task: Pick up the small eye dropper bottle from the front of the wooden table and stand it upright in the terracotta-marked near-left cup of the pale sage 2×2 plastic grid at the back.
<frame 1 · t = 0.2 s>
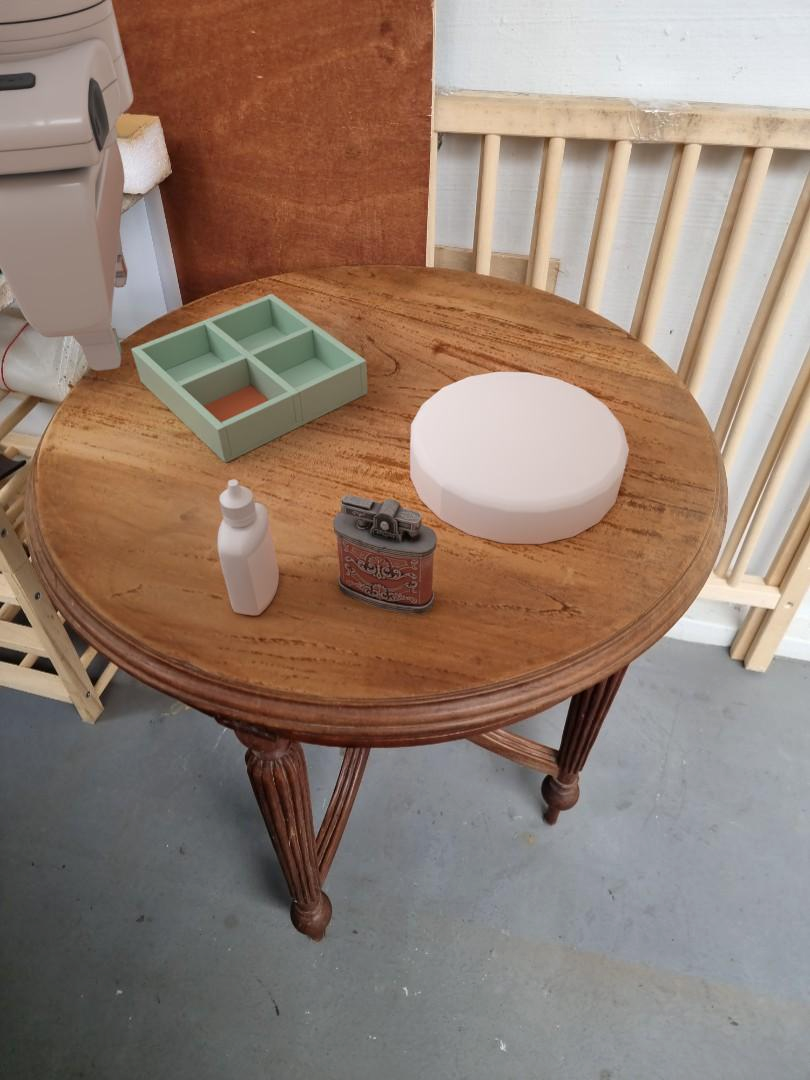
hand: (111, 320, 48), 23 cm above the table, tool pointing down, fingers open, 8 cm apart
eye dropper bottle: (256, 592, 64), on the table
lighter: (386, 594, 64), on the table
container: (513, 469, 74), on the table
grid: (253, 387, 83), on the table
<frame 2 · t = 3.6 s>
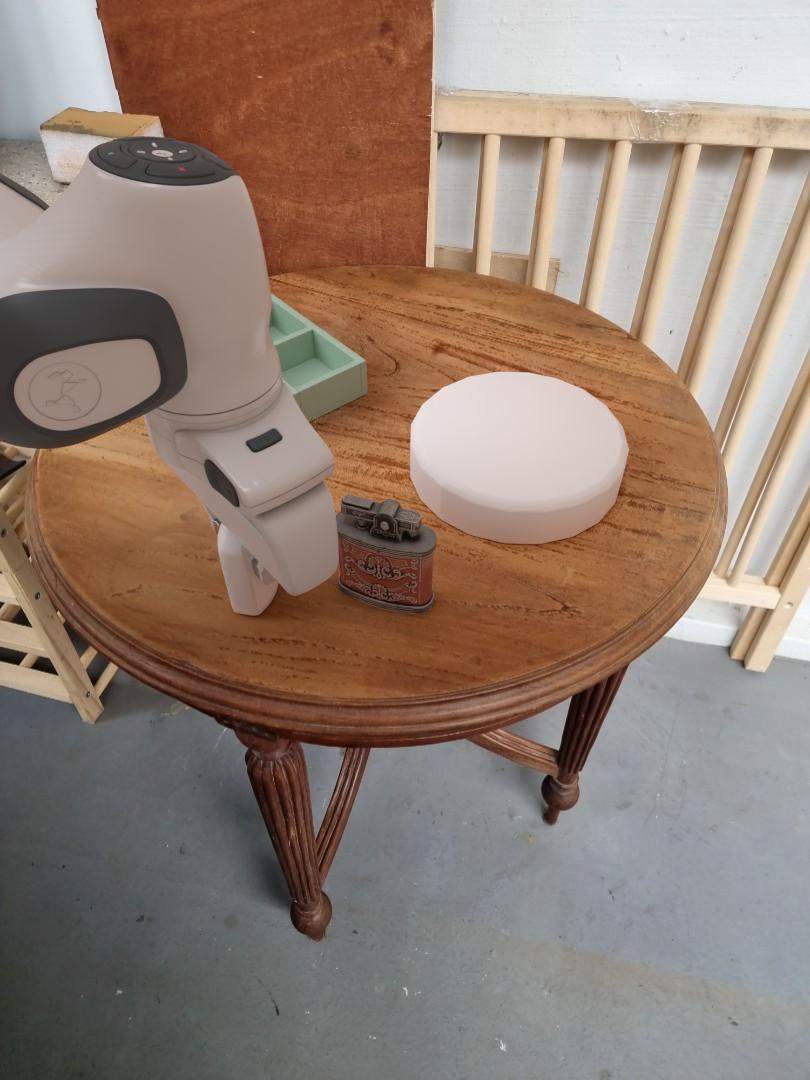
hand: (248, 553, 60), 5 cm above the table, tool pointing down, fingers closed on eye dropper bottle, 4 cm apart
eye dropper bottle: (256, 592, 64), on the table, touching gripper
everything else where it was.
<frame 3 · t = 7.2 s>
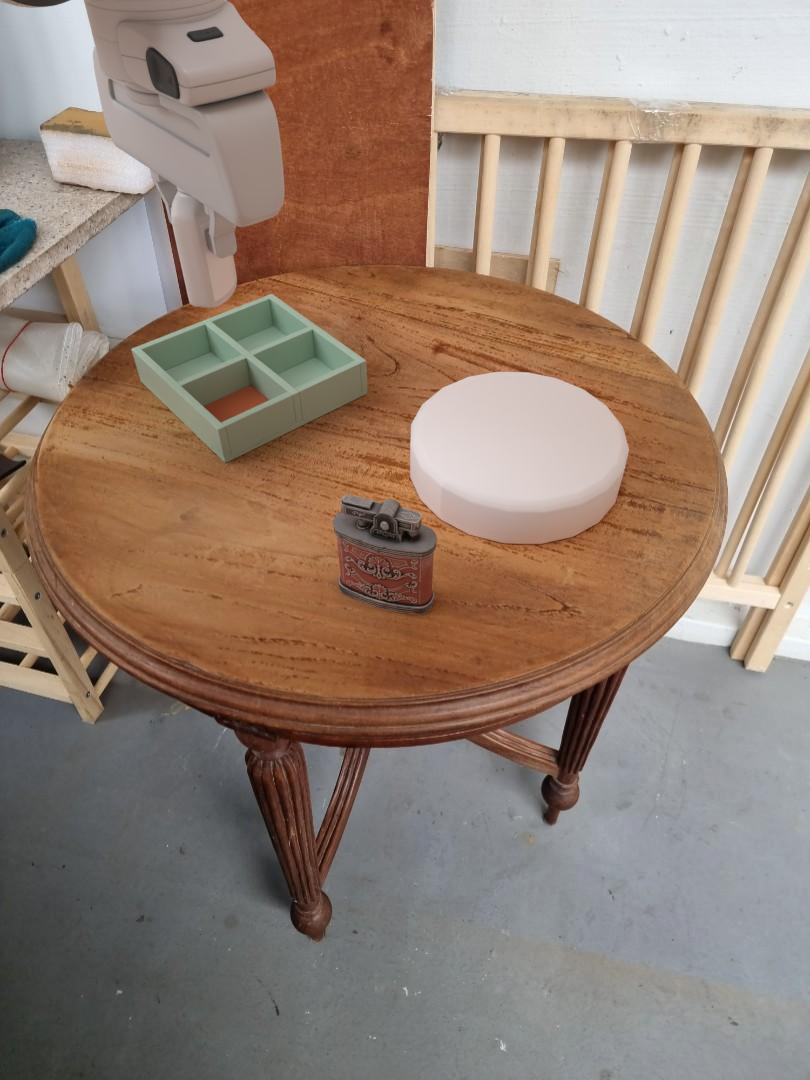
hand: (203, 239, 61), 21 cm above the table, tool pointing down, fingers closed on eye dropper bottle, 4 cm apart
eye dropper bottle: (214, 295, 64), point 16 cm above the table, touching gripper
everything else where it was.
when the fingers open (5 cm above the table, at t = 11.3 s): eye dropper bottle stays where it is, resting on grid.
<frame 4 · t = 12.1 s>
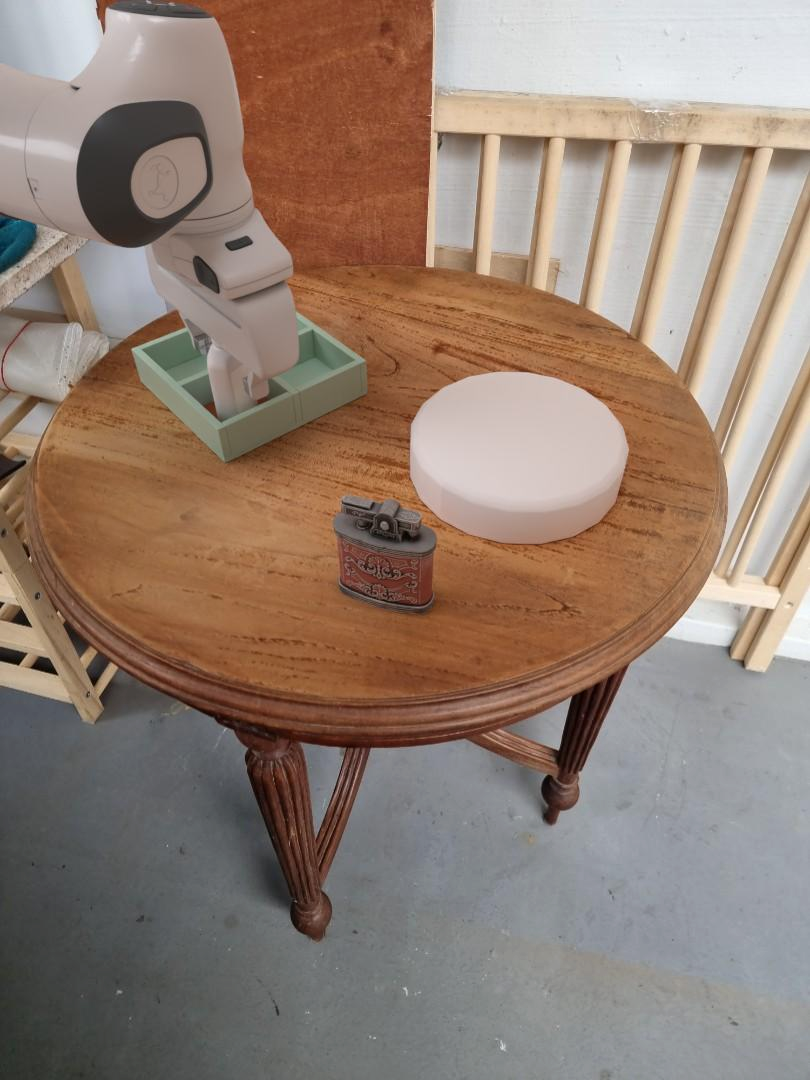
hand: (230, 371, 74), 6 cm above the table, tool pointing down, fingers open, 8 cm apart
eye dropper bottle: (239, 417, 78), point 1 cm above the table, touching grid
everything else where it was.
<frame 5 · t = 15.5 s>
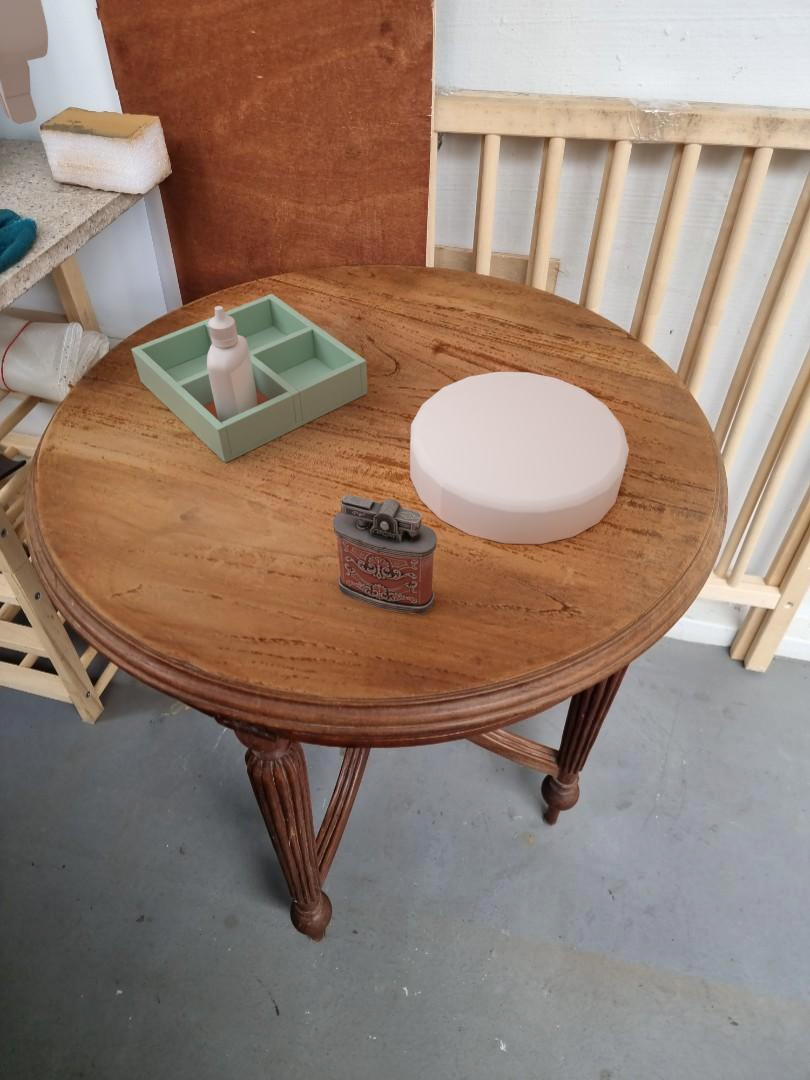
nothing on the table moved.
at the end: eye dropper bottle 0.1 cm from the target spot in the grid, point 0.6 cm above the grid's base; eye dropper bottle tilted 0°; the gripper is holding nothing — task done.
